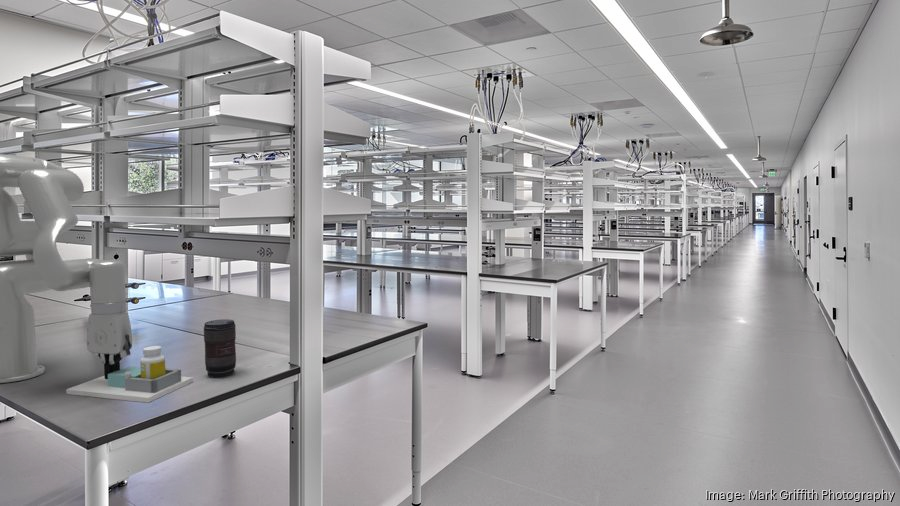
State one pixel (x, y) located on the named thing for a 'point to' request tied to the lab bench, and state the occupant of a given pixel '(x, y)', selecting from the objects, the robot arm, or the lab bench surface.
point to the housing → (122, 376)
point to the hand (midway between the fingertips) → (112, 377)
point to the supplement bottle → (152, 363)
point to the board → (133, 387)
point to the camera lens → (220, 347)
